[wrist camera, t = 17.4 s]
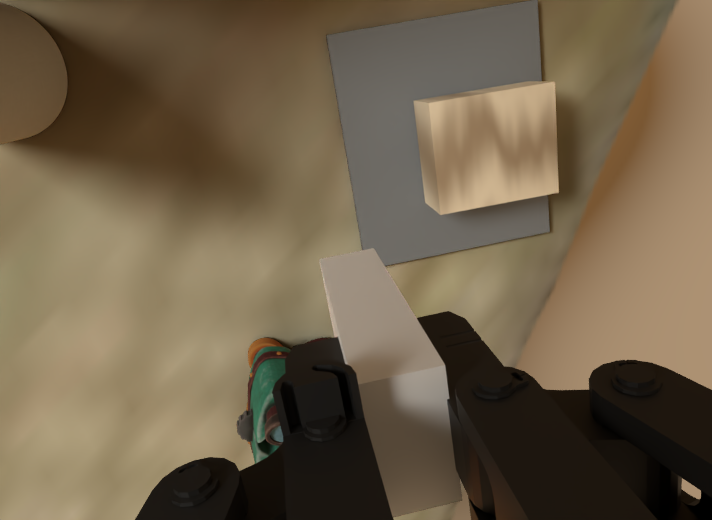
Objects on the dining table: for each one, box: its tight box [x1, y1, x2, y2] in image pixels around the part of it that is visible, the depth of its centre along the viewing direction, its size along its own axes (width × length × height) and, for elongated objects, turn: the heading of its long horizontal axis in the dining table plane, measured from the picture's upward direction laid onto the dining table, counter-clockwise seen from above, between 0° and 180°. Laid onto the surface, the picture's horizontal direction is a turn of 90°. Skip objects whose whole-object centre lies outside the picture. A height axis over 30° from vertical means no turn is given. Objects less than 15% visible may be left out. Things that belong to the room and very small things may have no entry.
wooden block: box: [413, 81, 559, 215], centre depth 37 cm, size 7×4×8 cm
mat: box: [326, 0, 550, 266], centre depth 39 cm, size 16×14×1 cm
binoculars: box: [237, 338, 328, 464], centre depth 39 cm, size 9×11×10 cm
